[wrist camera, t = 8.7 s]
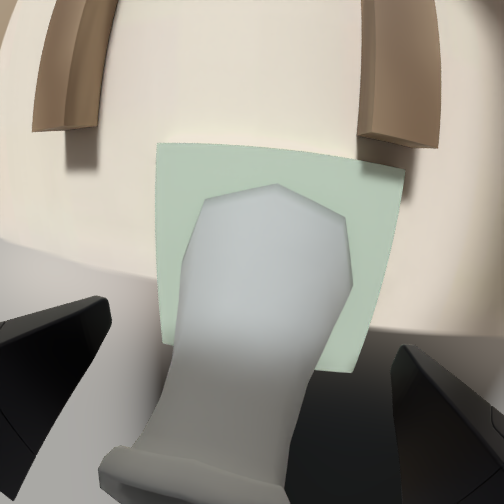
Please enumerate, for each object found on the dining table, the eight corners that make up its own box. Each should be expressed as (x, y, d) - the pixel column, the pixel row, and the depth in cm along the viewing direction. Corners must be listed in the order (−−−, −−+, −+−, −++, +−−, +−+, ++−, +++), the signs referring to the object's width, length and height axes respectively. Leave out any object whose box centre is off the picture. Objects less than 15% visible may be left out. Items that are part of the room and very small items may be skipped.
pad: (399, 168, 10) (405, 169, 10) (350, 362, 14) (352, 372, 13) (165, 143, 12) (157, 142, 11) (168, 334, 15) (162, 343, 14)
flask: (187, 173, 11) (-66, 268, 2) (370, 196, 10) (570, 382, 1) (185, 325, 14) (79, 500, 4) (333, 349, 13) (341, 560, 4)
